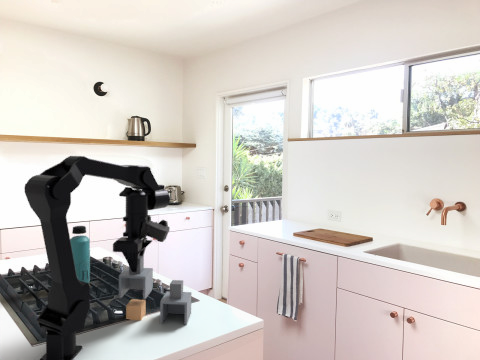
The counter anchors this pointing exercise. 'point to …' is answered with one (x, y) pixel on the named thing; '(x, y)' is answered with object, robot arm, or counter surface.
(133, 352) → the counter surface
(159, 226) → the robot arm
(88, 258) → the beverage bottle
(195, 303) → the counter surface
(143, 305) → the brown cube
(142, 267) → the cover
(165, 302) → the cover
